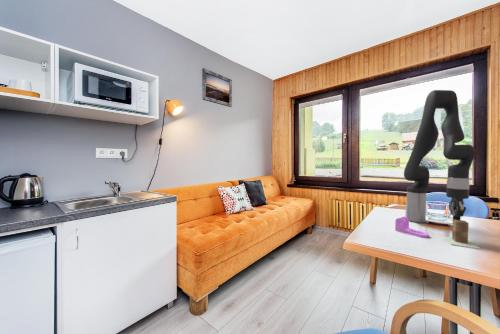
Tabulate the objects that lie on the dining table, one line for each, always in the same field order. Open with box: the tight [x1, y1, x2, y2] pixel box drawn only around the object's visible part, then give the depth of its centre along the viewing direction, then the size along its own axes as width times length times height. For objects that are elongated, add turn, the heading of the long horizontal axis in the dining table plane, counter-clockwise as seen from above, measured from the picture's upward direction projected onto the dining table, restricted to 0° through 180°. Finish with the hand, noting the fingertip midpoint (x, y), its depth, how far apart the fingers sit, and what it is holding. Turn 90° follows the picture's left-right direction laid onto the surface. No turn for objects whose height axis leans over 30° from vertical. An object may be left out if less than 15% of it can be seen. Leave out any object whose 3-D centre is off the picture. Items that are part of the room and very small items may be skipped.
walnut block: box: [451, 219, 469, 244], centre depth 93 cm, size 4×4×9 cm
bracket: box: [394, 216, 430, 239], centre depth 104 cm, size 13×6×7 cm, turn 30°
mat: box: [443, 236, 481, 250], centre depth 92 cm, size 9×10×1 cm
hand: (456, 224), depth 98 cm, fingers closed
